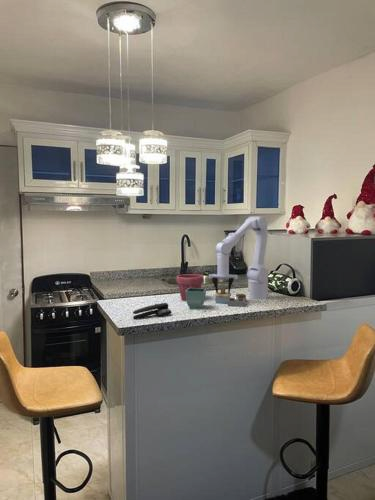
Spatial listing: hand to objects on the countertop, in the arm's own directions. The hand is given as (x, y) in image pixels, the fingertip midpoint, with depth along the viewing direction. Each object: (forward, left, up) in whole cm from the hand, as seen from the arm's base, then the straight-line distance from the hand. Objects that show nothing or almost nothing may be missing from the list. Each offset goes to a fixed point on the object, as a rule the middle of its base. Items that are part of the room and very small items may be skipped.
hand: (223, 292), depth 199 cm
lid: (0, 0, -1) cm, 1 cm away
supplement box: (-18, -33, -6) cm, 38 cm away
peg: (-7, +5, -5) cm, 10 cm away
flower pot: (+12, +13, -6) cm, 19 cm away
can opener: (+29, +32, -6) cm, 43 cm away
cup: (0, 0, -5) cm, 5 cm away
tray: (-7, +5, -5) cm, 10 cm away
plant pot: (+18, -6, -6) cm, 20 cm away
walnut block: (-9, -4, -5) cm, 11 cm away
